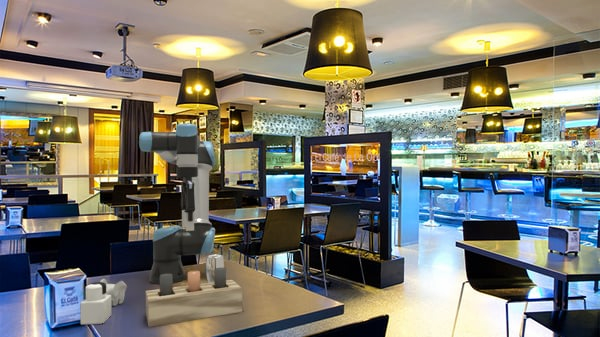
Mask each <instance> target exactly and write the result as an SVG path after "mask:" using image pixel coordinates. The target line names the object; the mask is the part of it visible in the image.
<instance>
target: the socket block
mask: <svg viewBox="0 0 600 337" xmlns="http://www.w3.org/2000/svg"><path fill="white" fill-rule="evenodd" d="M242 312H243V288H242V287H241V286H240V285H239V284H238V283H237V282H236V281H234V280H233V279H228V280H227V279H226V287H225V288H218V289H214V282H211V283H208V282H204V283H200V291H196V292H189V293H188V285H183V286H175V287H173V295H167V296H160V288H157V289H151V290H145V317H146V322H147V325H148V328H152V327H157V326H158V327H159V326H163V325H169V324H176V323H182V322H189V321H194V320H199V319H201V320H202V319H206V318H212V317H217V316H223V315H224V316H225V315H231V314H238V313H242Z"/></svg>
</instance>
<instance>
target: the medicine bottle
mask: <svg viewBox="0 0 600 337" xmlns="http://www.w3.org/2000/svg"><path fill="white" fill-rule="evenodd" d="M79 305H80V307H79V308H80V314H79V316H80V325H98V324H99V325H100V324H101V325H102V323H103V324H104V323H106V321H108V320H109V319H110V318H111V317H112V313H113V312H112V306H111V295H106V284H105V283H103V282H100V281H99V282H98V281H97V282H96V281H95V282H91V283H88V284H87V285H86V286H85V299H83V300H82V301H81V302H80V304H79ZM110 316H111V317H110ZM109 317H110V318H109Z"/></svg>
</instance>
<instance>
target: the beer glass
mask: <svg viewBox="0 0 600 337" xmlns="http://www.w3.org/2000/svg"><path fill="white" fill-rule="evenodd" d="M221 267H222V268H225V262H224V255H223V254H207V255H206V256H205V274H206V281H207V283H211V282H214V269H215V268H221Z"/></svg>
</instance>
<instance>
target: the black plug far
mask: <svg viewBox="0 0 600 337" xmlns="http://www.w3.org/2000/svg"><path fill="white" fill-rule="evenodd" d="M226 281H227V269H226V267H224V268H222V267H221V268H215V269H214V289H218V288H225V287H226Z"/></svg>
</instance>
